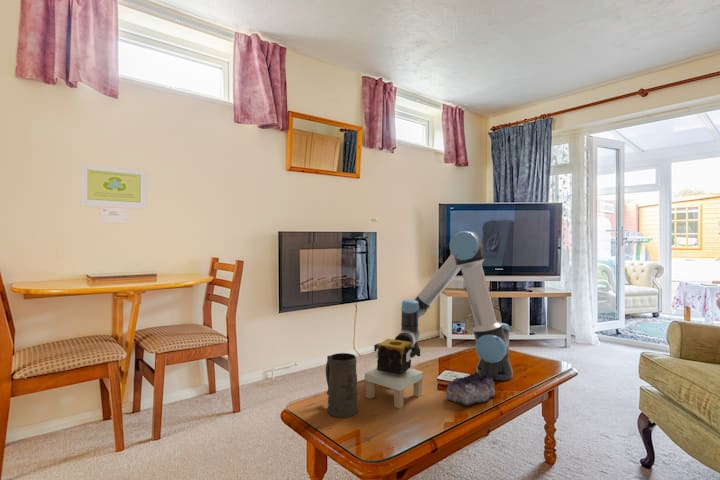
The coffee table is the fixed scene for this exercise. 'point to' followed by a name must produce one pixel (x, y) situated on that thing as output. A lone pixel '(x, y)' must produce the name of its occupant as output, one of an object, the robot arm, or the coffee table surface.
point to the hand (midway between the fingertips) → (391, 356)
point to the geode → (471, 389)
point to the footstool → (394, 383)
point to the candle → (393, 356)
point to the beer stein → (341, 385)
